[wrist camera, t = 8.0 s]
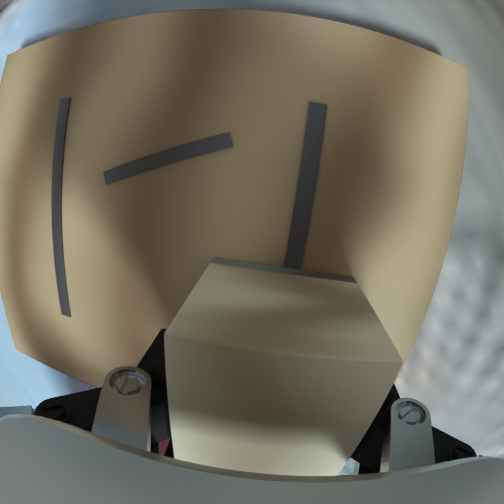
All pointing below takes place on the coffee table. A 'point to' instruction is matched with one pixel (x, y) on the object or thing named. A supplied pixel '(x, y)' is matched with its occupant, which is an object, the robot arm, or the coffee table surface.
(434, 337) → the coffee table surface
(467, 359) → the coffee table surface
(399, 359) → the block
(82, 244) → the tan board with strips
